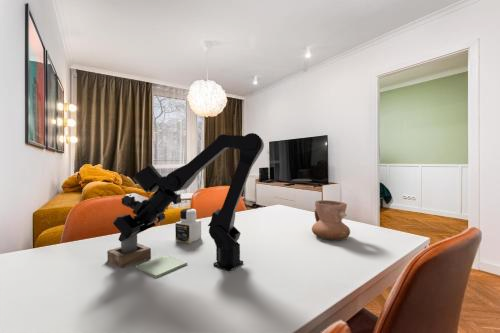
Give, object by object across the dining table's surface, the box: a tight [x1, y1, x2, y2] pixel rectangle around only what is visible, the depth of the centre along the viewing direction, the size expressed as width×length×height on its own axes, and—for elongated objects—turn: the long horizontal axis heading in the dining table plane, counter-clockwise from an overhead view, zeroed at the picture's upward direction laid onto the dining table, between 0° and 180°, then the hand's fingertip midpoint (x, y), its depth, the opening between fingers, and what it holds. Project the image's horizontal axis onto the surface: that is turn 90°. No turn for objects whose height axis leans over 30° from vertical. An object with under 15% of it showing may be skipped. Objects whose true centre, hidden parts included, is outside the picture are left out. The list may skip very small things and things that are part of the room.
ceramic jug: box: [311, 199, 351, 241], centre depth 93 cm, size 18×14×14 cm
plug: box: [120, 234, 138, 255], centre depth 73 cm, size 4×4×11 cm
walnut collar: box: [106, 242, 152, 269], centre depth 73 cm, size 9×9×3 cm
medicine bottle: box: [174, 207, 202, 244], centre depth 91 cm, size 7×7×12 cm
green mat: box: [135, 254, 188, 279], centre depth 67 cm, size 10×10×1 cm
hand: (125, 237), depth 73 cm, fingers closed on plug, 4 cm apart
